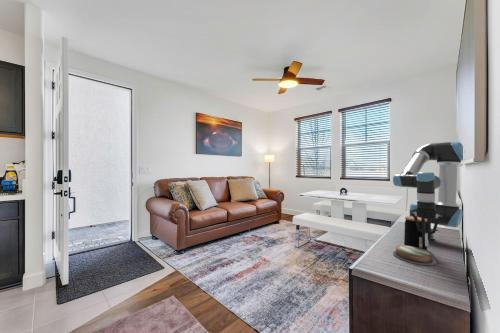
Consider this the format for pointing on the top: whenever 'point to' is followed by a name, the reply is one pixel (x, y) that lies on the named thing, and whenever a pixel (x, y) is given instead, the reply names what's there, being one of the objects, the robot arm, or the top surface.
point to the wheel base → (415, 262)
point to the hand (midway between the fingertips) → (426, 245)
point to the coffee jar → (414, 232)
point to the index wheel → (415, 253)
